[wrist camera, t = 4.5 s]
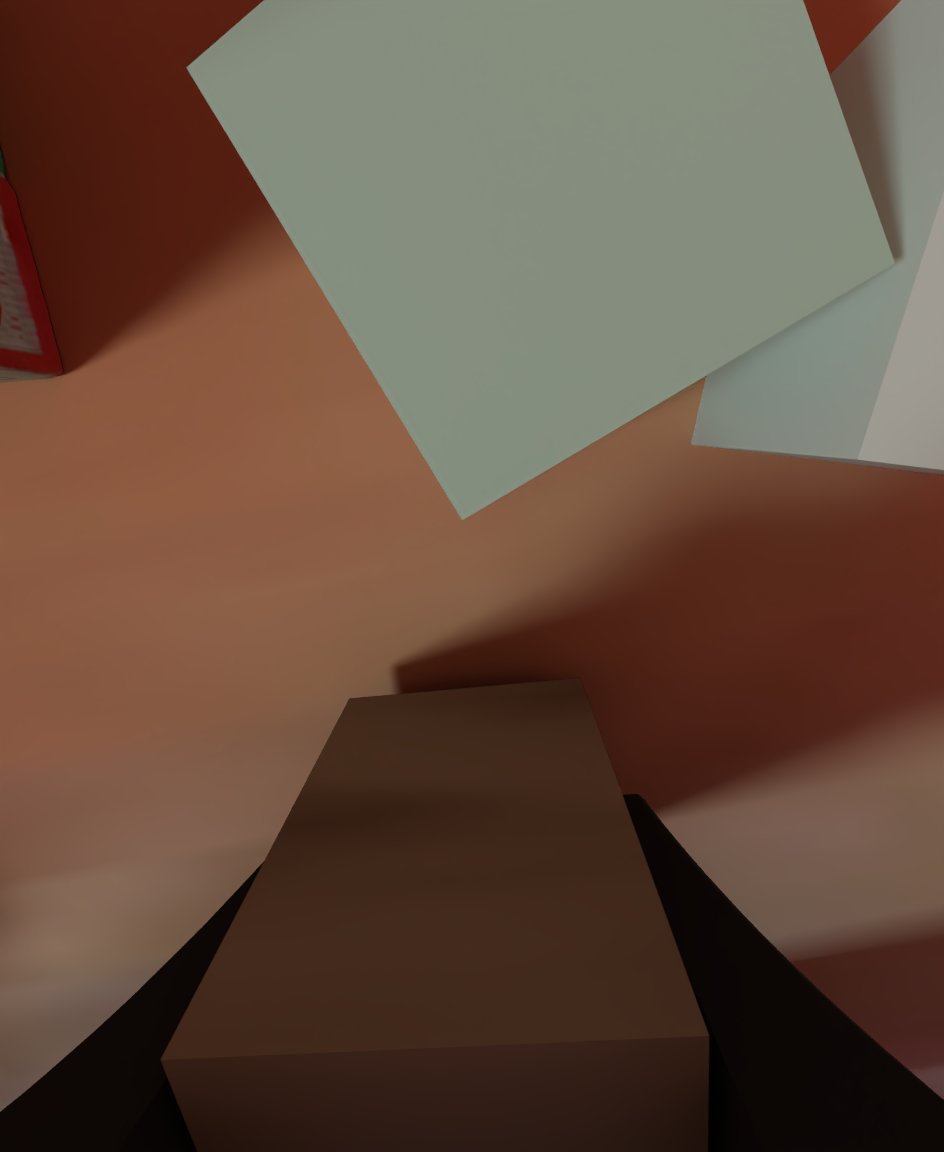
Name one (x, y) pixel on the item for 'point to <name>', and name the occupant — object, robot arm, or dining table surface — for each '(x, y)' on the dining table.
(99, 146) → the dining table surface
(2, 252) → the stack of blocks
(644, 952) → the walnut bar
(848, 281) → the sage block
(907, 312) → the white block
